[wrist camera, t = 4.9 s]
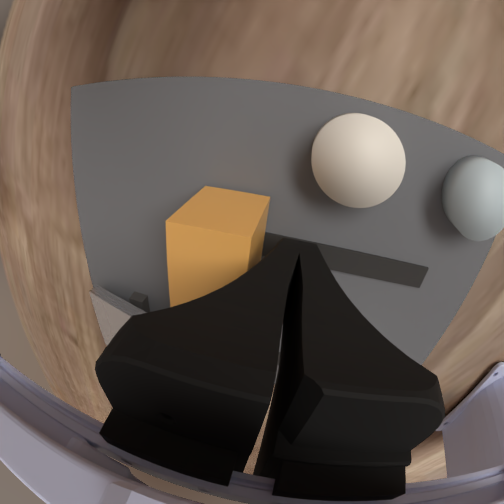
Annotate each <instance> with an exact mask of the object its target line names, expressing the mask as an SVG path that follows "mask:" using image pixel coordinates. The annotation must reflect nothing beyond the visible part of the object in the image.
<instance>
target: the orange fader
mask: <svg viewBox="0 0 504 504" xmlns="http://www.w3.org/2000/svg"><path fill="white" fill-rule="evenodd" d="M269 203H270V197H269V196H263V195H258V194H252V193H246V192H241V191H235V190H229V189H222V188H216V187H210V186H205V187H204V188H202V189H201V190H200V191H199V192H198V193H197V194H195V195H194V196H193V197H192V198H191V199H190V200H189V201H187V202H186V203H185V204H184V205H183V206H182V207H181V208H179V209H178V210H177V211H176V212H175V213H174V214H173V215H172V216H171V217H169V218H168V219H167V220H166V247H167V267H168V282H169V295H170V307H173V306H176V305H180V304H183V303H186V302H189V301H192V300H194V299H197V298H200V297H202V296H204V295H207V294H209V293H211V292H213V291H215V290H218V289H220V288H222V287H223V286H225V285H227V284H229V283H230V282H232V281H234V280H235V279H237V278H238V277H240V276H241V275H243V274H244V273H246V272H247V271H248V270H249V269H251V268H252V267H253V266H255V265H256V264H257V263H258V262H259V261H261V256H262V249H263V243H264V236H265V229H266V223H267V216H268V209H269Z"/></svg>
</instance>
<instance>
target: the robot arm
mask: <svg viewBox="0 0 504 504" xmlns="http://www.w3.org/2000/svg"><path fill="white" fill-rule="evenodd" d="M282 325H283V327H282ZM281 332H282V339H281ZM280 339H281V350H280V361H279V368H278V374H277V379H276V384H275V388H274V393H273V397H272V392H273V387H274V382H275V377H276V372H277V363H278V355H279V347H280ZM95 371H96V374H97V377H98V380H99V383H100V385H101V387H102V389H103V390H104V392H105V394H106V396H107V398H108V400H109V401H110V403H111V405H112V407H113V409H112V410H111V412H110V414H109V416H108V418H107V419H106V421H105V423H104V424H103V423H101V422H99V421H98V420H96V419H94V418H92V417H90V416H88V415H86V414H84V413H83V412H81V411H79V410H77V409H76V408H74V407H72V406H71V405H69V404H67V403H65V402H64V401H62V400H61V399H59V398H57V397H56V396H54V395H53V394H51V393H49V392H48V391H47V390H45V389H44V388H42V387H41V386H39V385H38V384H36V383H35V382H33V381H32V380H31V379H29V378H28V377H26V376H25V375H24V374H22V373H21V372H20V371H18V370H17V369H16V368H14V367H13V366H12V365H11V364H9V363H8V362H7V361H6V360H4V359H3V358H2V357H1V354H0V460H1V461H2V462H3V463H4V464H5V465H6V466H7V467H8V468H9V470H10V471H12V473H13V474H14V475H15V476H16V477H18V479H20V480H21V481H22V482H23V483H24V484H25V485H26V486H27V487H28V488H29V489H30V490H31V491H33V492H34V493H35V494H36V495H37V496H38V497H39V498H41V499H42V500H43V501H44V502H46V504H203V503H199V502H196V501H192V500H188V499H185V498H182V497H178V496H175V495H172V494H169V493H166V492H163V491H160V490H157V489H154V488H151V487H149V486H148V485H146V484H145V483H143V482H141V481H140V480H138V479H137V478H136V477H135V476H133V474H131V472H130V470H129V468H128V467H126V466H124V465H122V464H121V463H119V462H117V461H116V460H118V461H120V462H122V463H124V464H126V465H129V466H131V467H133V468H135V469H137V470H140V471H142V472H145V473H147V474H149V475H152V476H155V477H157V478H160V479H162V480H165V481H168V482H171V483H173V484H176V485H179V486H182V487H186V488H189V489H192V490H195V491H199V492H202V493H205V494H209V495H213V496H217V497H221V498H225V499H229V500H233V501H238V502H243V503H248V504H504V362H499V363H497V364H496V365H495V366H494V367H493V368H492V369H491V370H490V372H489V373H488V374H487V375H486V376H485V377H484V378H483V380H482V381H481V382H480V383H479V384H478V385H477V386H476V387H475V388H474V389H473V390H472V391H471V393H470V394H469V395H468V396H467V397H466V398H465V399H464V400H463V401H462V402H461V403H460V404H459V405H458V406H457V407H455V408H454V409H453V410H452V411H451V412H450V413H449V414H448V415H447V416H446V417H445V407H444V402H443V398H442V393H441V389H440V385H439V381H438V378H437V376H436V375H435V374H433V373H432V372H430V371H429V370H427V369H426V368H424V367H423V366H422V365H420V364H419V363H417V362H416V361H414V360H413V359H411V358H410V357H409V356H407V355H406V354H405V353H403V352H402V351H401V350H400V349H398V348H397V347H396V346H395V345H394V344H392V343H391V342H390V341H389V340H388V339H387V338H385V337H384V336H383V335H382V334H381V333H380V332H379V331H378V330H377V329H376V328H375V327H374V326H373V325H372V324H371V323H370V322H369V321H368V320H367V319H366V318H365V317H364V316H363V315H362V314H361V312H360V311H359V310H358V309H357V308H356V306H355V305H354V304H353V303H352V302H351V300H350V299H349V298H348V297H347V295H346V294H345V292H344V291H343V290H342V288H341V287H340V285H339V284H338V282H337V281H336V279H335V277H334V276H333V274H332V272H331V271H330V269H329V267H328V265H327V263H326V261H325V259H324V258H323V256H322V254H321V252H320V249H319V248H318V246H317V244H313V243H309V242H304V241H299V240H294V239H289V238H282V239H280V240H279V242H278V243H277V245H276V246H275V247H274V248H273V249H272V250H271V251H270V252H269V253H268V254H267V255H266V256H265V257H264V258H263V259H262V260H261V261H259V262H258V263H257V264H256V265H255V266H253V267H252V268H251V269H249V270H248V271H247V272H246V273H244V274H243V275H241V276H240V277H238V278H237V279H235V280H234V281H232V282H230V283H229V284H227V285H225V286H223V287H222V288H220V289H218V290H215V291H213V292H211V293H209V294H207V295H204V296H202V297H200V298H197V299H194V300H192V301H189V302H186V303H183V304H180V305H176V306H173V307H169V308H166V309H161V310H157V311H152V312H148V313H143V314H138V315H133V316H131V317H130V318H129V320H128V321H127V322H126V323H125V324H124V325H123V326H122V327H121V328H120V329H119V331H118V332H117V333H116V334H115V336H114V337H113V339H112V340H111V341H110V343H109V344H108V346H107V347H106V348H105V350H104V351H103V353H102V354H101V355H100V357H99V358H98V360H97V361H96V366H95ZM271 397H272V402H271V406H270V410H269V415H268V419H267V423H266V427H265V431H264V435H263V439H262V443H261V447H260V451H259V454H258V458H257V462H256V465H255V469H254V472H253V475H251V474H246V473H243V471H244V468H245V466H246V463H247V461H248V458H249V456H250V454H251V452H252V450H253V447H254V445H255V442H256V440H257V437H258V434H259V432H260V429H261V426H262V424H263V421H264V418H265V416H266V413H267V410H268V407H269V405H270V401H271ZM444 417H445V418H444ZM434 431H442V434H443V441H444V449H445V458H446V469H447V478H444V479H438V480H431V481H424V482H415V483H406V477H405V466H408V465H410V463H411V450H412V449H413V448H414V447H416V446H417V445H418V444H420V443H421V442H422V441H424V440H425V439H426V438H427V437H429V436H430V435H431V434H432V433H433V432H434ZM107 455H108V456H107ZM109 456H110V457H112V458H114V459H116V460H114V459H112V458H110V457H109Z"/></svg>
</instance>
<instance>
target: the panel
mask: <svg viewBox="0 0 504 504" xmlns="http://www.w3.org/2000/svg"><path fill="white" fill-rule="evenodd" d="M71 143H72V160H73V173H74V183H75V192H76V200H77V207H78V214H79V221H80V227H81V233H82V238H83V243H84V249H85V253H86V258H87V263H88V267H89V272H90V276H91V280H92V284H93V288H94V287H96V286H97V285H99V286H101V287H103V288H104V289H106V290H108V291H109V292H111V293H113V294H115V295H116V296H118V297H120V298H122V299H123V300H125V301H127V302H129V303H131V304H132V305H134V306H136V307H138V308H140V309H142V310H143V311H145V312H147V313H148V312H152V311H157V310H161V309H166V308H169V307H170V295H169V282H168V267H167V247H166V220H167V219H168V218H169V217H171V216H172V215H173V214H174V213H175V212H176V211H177V210H178V209H179V208H181V207H182V206H183V205H184V204H185V203H186V202H187V201H189V200H190V199H191V198H192V197H193V196H194V195H195V194H197V193H198V192H199V191H200V190H201V189H202V188H204V187H205V186H210V187H216V188H222V189H229V190H235V191H241V192H246V193H252V194H258V195H263V196H269V197H270V203H269V209H268V216H267V223H266V229H265V236H264V243H263V249H262V256H261V260H262V259H263V258H264V257H265V256H266V255H267V254H268V253H269V252H270V251H271V250H272V249H273V248H274V247H275V246H276V245H277V243H278V242H279V240H280V239H282V238H289V239H294V240H299V241H304V242H309V243H313V244H317V246H318V248H319V249H320V252H321V254H322V256H323V258H324V259H325V261H326V263H327V265H328V267H329V269H330V271H331V272H332V274H333V276H334V277H335V279H336V281H337V282H338V284H339V285H340V287H341V288H342V290H343V291H344V292H345V294H346V295H347V297H348V298H349V299H350V300H351V302H352V303H353V304H354V305H355V306H356V308H357V309H358V310H359V311H360V312H361V314H362V315H363V316H364V317H365V318H366V319H367V320H368V321H369V322H370V323H371V324H372V325H373V326H374V327H375V328H376V329H377V330H378V331H379V332H380V333H381V334H382V335H383V336H384V337H385V338H387V339H388V340H389V341H390V342H391V343H392V344H394V345H395V346H396V347H397V348H398V349H400V350H401V351H402V352H403V353H405V354H406V355H407V356H409V357H410V358H411V359H413V360H414V361H416V362H417V363H419V364H420V365H422V363H423V362H424V361H425V359H426V358H427V357H428V355H429V354H430V353H431V351H432V350H433V348H434V347H435V345H436V344H437V343H438V341H439V340H440V338H441V337H442V335H443V334H444V332H445V331H446V329H447V327H448V326H449V324H450V323H451V321H452V320H453V318H454V316H455V315H456V313H457V311H458V310H459V308H460V306H461V305H462V303H463V301H464V299H465V298H466V296H467V294H468V292H469V290H470V288H471V287H472V285H473V283H474V281H475V279H476V277H477V275H478V273H479V271H480V269H481V267H482V265H483V263H484V261H485V259H486V256H487V254H488V252H489V250H490V248H491V245H492V243H493V241H494V238H495V236H496V235H497V234H498V233H499V232H500V231H501V230H502V229H503V228H504V154H503V153H501V152H499V151H497V150H495V149H494V148H492V147H490V146H488V145H486V144H484V143H482V142H480V141H477V140H475V139H473V138H471V137H469V136H467V135H464V134H462V133H460V132H458V131H455V130H453V129H451V128H448V127H446V126H443V125H441V124H438V123H436V122H433V121H431V120H428V119H425V118H422V117H420V116H417V115H414V114H411V113H408V112H405V111H402V110H399V109H396V108H393V107H389V106H386V105H383V104H379V103H376V102H372V101H368V100H364V99H361V98H357V97H353V96H348V95H344V94H340V93H335V92H330V91H325V90H320V89H315V88H310V87H304V86H298V85H291V84H284V83H277V82H269V81H260V80H250V79H237V78H221V77H153V78H137V79H125V80H115V81H106V82H99V83H92V84H85V85H79V86H73V87H71ZM282 327H283V325H282ZM281 339H282V332H281ZM281 339H280V347H279V355H278V363H277V372H276V377H275V382H274V384H276V379H277V374H278V368H279V361H280V350H281Z"/></svg>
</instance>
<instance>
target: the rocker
mask: <svg viewBox="0 0 504 504" xmlns="http://www.w3.org/2000/svg"><path fill="white" fill-rule="evenodd" d="M89 293H90V296H91V300H92V303H93V307H94V310H95V313H96V317H97V320H98V323H99V326H100V329H101V332H102V335H103V338H104V341H105V344H106V345H107V346H108V344H109V343H110V341H111V340H112V339H113V337H114V336H115V334H116V333H117V332H118V331H119V329H120V328H121V327H122V326H123V325H124V324H125V323H126V322H127V321H128V320H129V318H130V317H131V316H133V315H138V314H143V313H147V312H145V311H143V310H142V309H140V308H138V307H136V306H134V305H132V304H131V303H129V302H127V301H125V300H123V299H122V298H120V297H118V296H116V295H115V294H113V293H111V292H109V291H108V290H106V289H104V288H103V287H101V286H99V285H97V286H96V287H94V288H93V289H91V290H90V291H89Z"/></svg>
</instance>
